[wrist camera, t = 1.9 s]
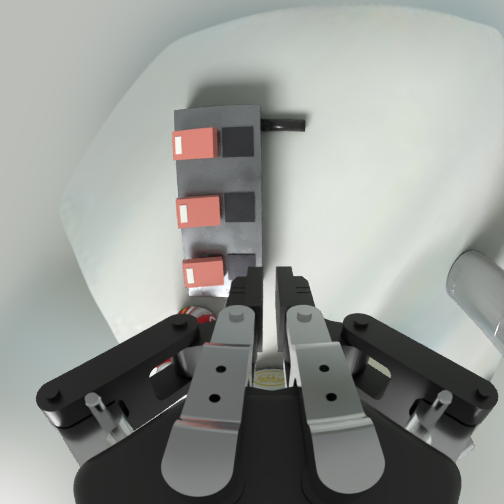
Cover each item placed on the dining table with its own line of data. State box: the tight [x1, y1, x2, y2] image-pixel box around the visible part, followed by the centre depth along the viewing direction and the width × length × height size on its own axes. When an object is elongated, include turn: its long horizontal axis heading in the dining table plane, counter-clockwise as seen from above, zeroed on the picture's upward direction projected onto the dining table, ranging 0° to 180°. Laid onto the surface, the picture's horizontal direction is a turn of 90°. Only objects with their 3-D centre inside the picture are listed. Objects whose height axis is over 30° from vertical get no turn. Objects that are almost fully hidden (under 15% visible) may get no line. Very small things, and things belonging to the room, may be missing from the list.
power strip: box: [174, 104, 305, 297], centre depth 31 cm, size 14×22×4 cm, turn 1°
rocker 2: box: [176, 195, 220, 228], centre depth 28 cm, size 4×3×1 cm
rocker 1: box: [172, 127, 218, 160], centre depth 26 cm, size 4×3×1 cm
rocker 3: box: [182, 256, 224, 288], centre depth 31 cm, size 4×3×1 cm
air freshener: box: [254, 369, 285, 391], centre depth 40 cm, size 11×8×10 cm
